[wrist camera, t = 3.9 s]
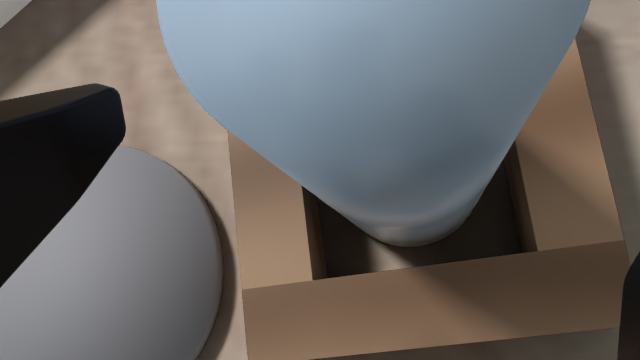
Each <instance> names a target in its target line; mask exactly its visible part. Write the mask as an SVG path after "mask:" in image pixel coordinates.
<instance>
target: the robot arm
mask: <svg viewBox="0 0 640 360" xmlns="http://www.w3.org/2000/svg"><path fill="white" fill-rule="evenodd" d="M125 132H126V125H125V120H124V114H123V109H122V103H121V98H120V94H119V93H118V91H117V90H116V89H114V88H112V87H108V86H105V85H101V84H95V83H94V84H88V85H83V86H77V87H72V88H67V89H61V90H56V91H51V92H45V93H40V94H35V95H29V96H24V97H19V98H13V99H8V100H3V101H0V288H1V287H2V286H3V284H4V283H5V282H6V281H7V280H8V279H9V278H10V277H11V276H12V274H13V273H14V272H15V271H16V270H17V269H18V268H19V267H20V265H21V264H22V263H23V262H24V261H25V260H26V259H27V258H28V257H29V255H30V254H31V253H32V252H33V251H34V250H35V249H36V248H37V247H38V245H39V244H40V243H41V242H42V241H43V240H44V239H45V238H46V236H47V235H48V234H49V233H50V232H51V231H52V230H53V229H54V228H55V226H56V225H57V224H58V223H59V222H60V221H61V220H62V219H63V218H64V216H65V215H66V214H67V213H68V212H69V211H70V210H71V209H72V207H73V206H74V205H75V204H76V203H77V202H78V200H79V199H80V198H81V197H82V195H83V194H84V193H85V191H86V190H87V189H88V187H89V186H90V185H91V183H92V182H93V180H94V179H95V178H96V176H97V175H98V174H99V172H100V171H101V169H102V168H103V167H104V165H105V164H106V163H107V161H108V160H109V158H110V157H111V156H112V154H113V153H114V151H115V150H116V149H117V147H118V146H119V145H120V143H121V142H122V140H123V138H124V136H125ZM617 360H640V252H639V254H638V255H637V257H636V259H635V260H634V262H633V264H632V265H631V267H630V268H629V270H628V272H627V274H626V277H625V280H624V284H623V292H622V305H621V318H620V331H619V344H618V357H617Z"/></svg>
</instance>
